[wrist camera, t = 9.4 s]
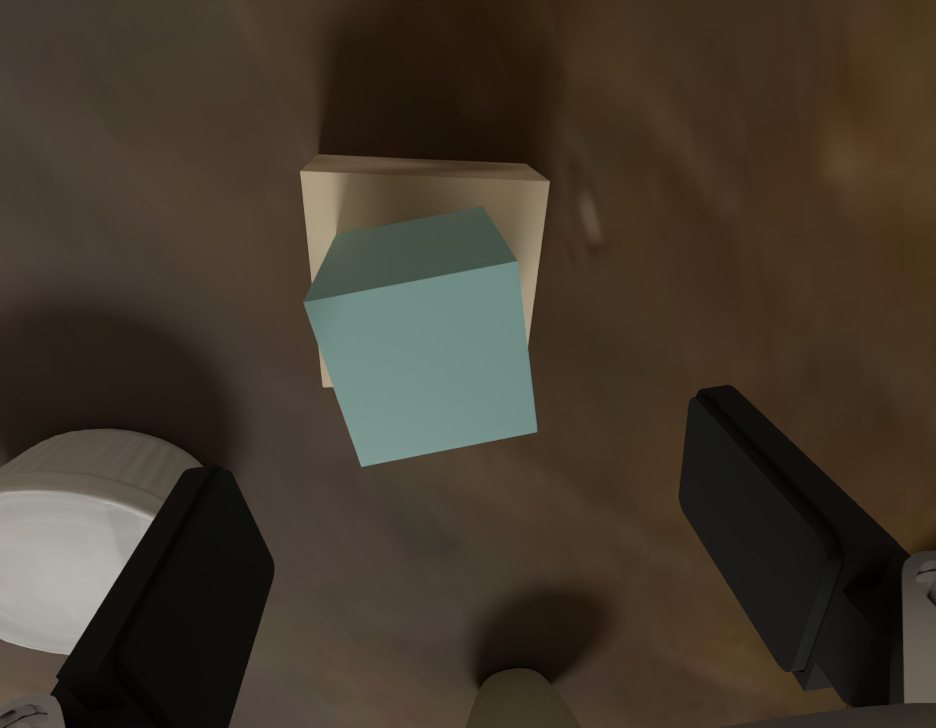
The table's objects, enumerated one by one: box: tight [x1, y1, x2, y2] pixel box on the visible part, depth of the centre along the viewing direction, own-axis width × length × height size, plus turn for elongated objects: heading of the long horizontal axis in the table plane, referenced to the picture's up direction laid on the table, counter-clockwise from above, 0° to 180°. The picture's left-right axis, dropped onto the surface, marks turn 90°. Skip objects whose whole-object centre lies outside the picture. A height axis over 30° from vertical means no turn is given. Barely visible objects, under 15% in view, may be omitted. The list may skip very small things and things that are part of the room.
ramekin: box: [0, 429, 203, 655], centre depth 24 cm, size 11×11×5 cm
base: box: [300, 154, 550, 387], centre depth 20 cm, size 8×8×4 cm
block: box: [303, 206, 537, 467], centre depth 15 cm, size 5×5×6 cm
